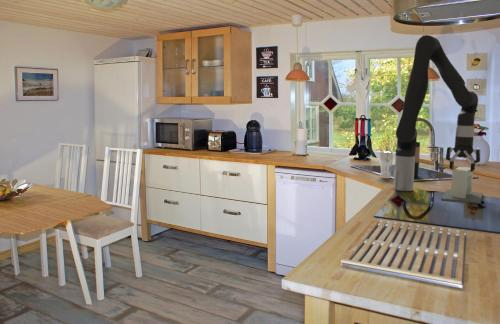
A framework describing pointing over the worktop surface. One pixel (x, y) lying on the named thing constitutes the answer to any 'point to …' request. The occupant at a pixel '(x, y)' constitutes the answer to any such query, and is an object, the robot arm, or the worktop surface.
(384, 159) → the beer glass
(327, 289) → the worktop surface
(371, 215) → the worktop surface
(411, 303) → the worktop surface
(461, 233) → the worktop surface
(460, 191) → the tall sage green block
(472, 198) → the mat
